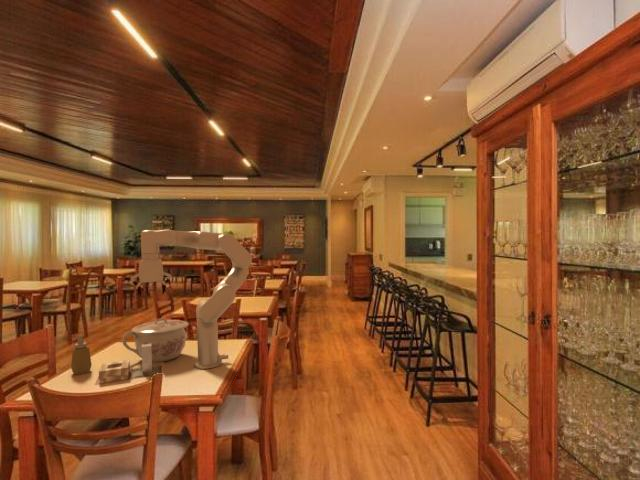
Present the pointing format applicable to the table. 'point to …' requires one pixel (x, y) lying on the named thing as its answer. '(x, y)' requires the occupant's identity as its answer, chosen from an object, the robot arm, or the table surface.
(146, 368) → the steel peg
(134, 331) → the chamber pot
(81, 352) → the squeeze bottle
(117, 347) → the table surface
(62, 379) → the table surface
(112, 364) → the socket board
